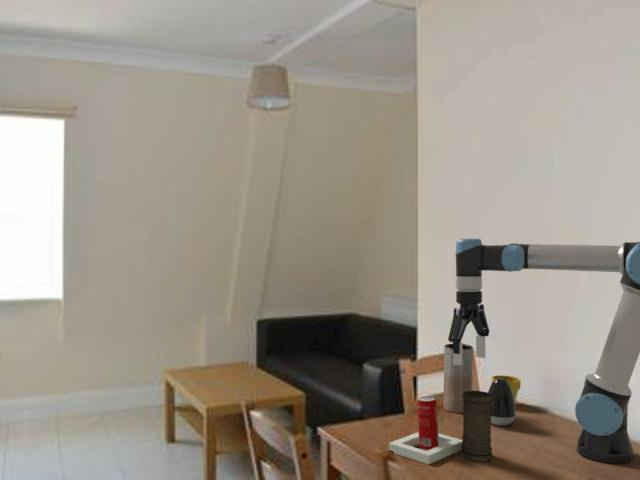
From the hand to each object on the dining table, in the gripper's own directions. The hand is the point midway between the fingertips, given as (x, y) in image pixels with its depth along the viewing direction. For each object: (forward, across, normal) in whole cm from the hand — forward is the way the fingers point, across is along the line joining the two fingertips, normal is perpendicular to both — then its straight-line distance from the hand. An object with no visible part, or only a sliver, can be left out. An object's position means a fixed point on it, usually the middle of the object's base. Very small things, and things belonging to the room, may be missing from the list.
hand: (469, 361), depth 199 cm
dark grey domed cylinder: (+26, -26, -4) cm, 37 cm away
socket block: (+25, +12, -7) cm, 29 cm away
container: (+26, +6, +6) cm, 27 cm away
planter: (+25, -31, -23) cm, 46 cm away
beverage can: (+26, +11, -8) cm, 29 cm away
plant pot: (+26, -49, -13) cm, 57 cm away
